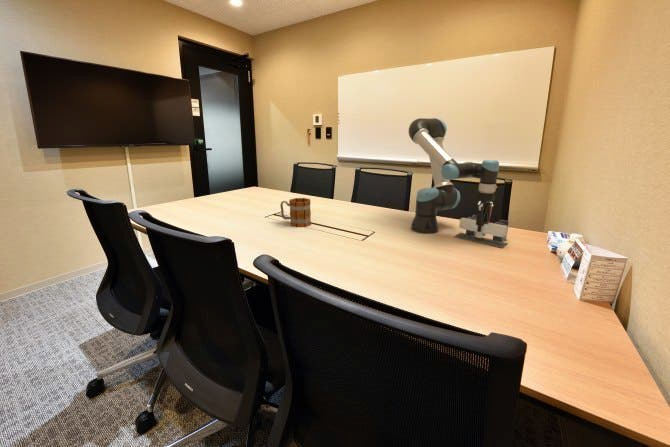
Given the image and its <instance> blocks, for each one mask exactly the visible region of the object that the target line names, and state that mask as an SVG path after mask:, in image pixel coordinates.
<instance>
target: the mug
mask: <svg viewBox="0 0 670 447" xmlns="http://www.w3.org/2000/svg"><path fill="white" fill-rule="evenodd" d="M283 203H285V204H286V206H287V207H289V217H286V216H285V215H284V205H283ZM280 214H281V218H282V219H283V220H284V221H285V220H290V225H291V226H290V227H293V226H294V228H307V227H310V226H312V220H311V215H312V212H311V199H310V198H307V197H294V198H291V199H289V202H288V201H286V200H283V201H281V202H280Z"/></svg>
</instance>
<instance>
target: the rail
mask: <svg viewBox="0 0 670 447" xmlns="http://www.w3.org/2000/svg"><path fill="white" fill-rule="evenodd" d="M458 228H459V229H461V230H462V229H463V230H465V231H466V230H471V231H475V232H477V225H476V220H473V219H468V217H461V218H459V225H458ZM506 231H507V226H505V225H500V224H495V223H493V222H490V221H489V222H483V233H485V234H486V235H490V236H493V235H494V236H499V237H504V236H506ZM507 232H508V231H507Z"/></svg>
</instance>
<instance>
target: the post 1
mask: <svg viewBox="0 0 670 447" xmlns="http://www.w3.org/2000/svg"><path fill="white" fill-rule="evenodd" d="M467 218H468V219H473V220H476V218H477V214H472V216H467ZM476 233H477V232H475V231H471V230H466V229H465V234H470V235H474V236H476Z"/></svg>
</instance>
